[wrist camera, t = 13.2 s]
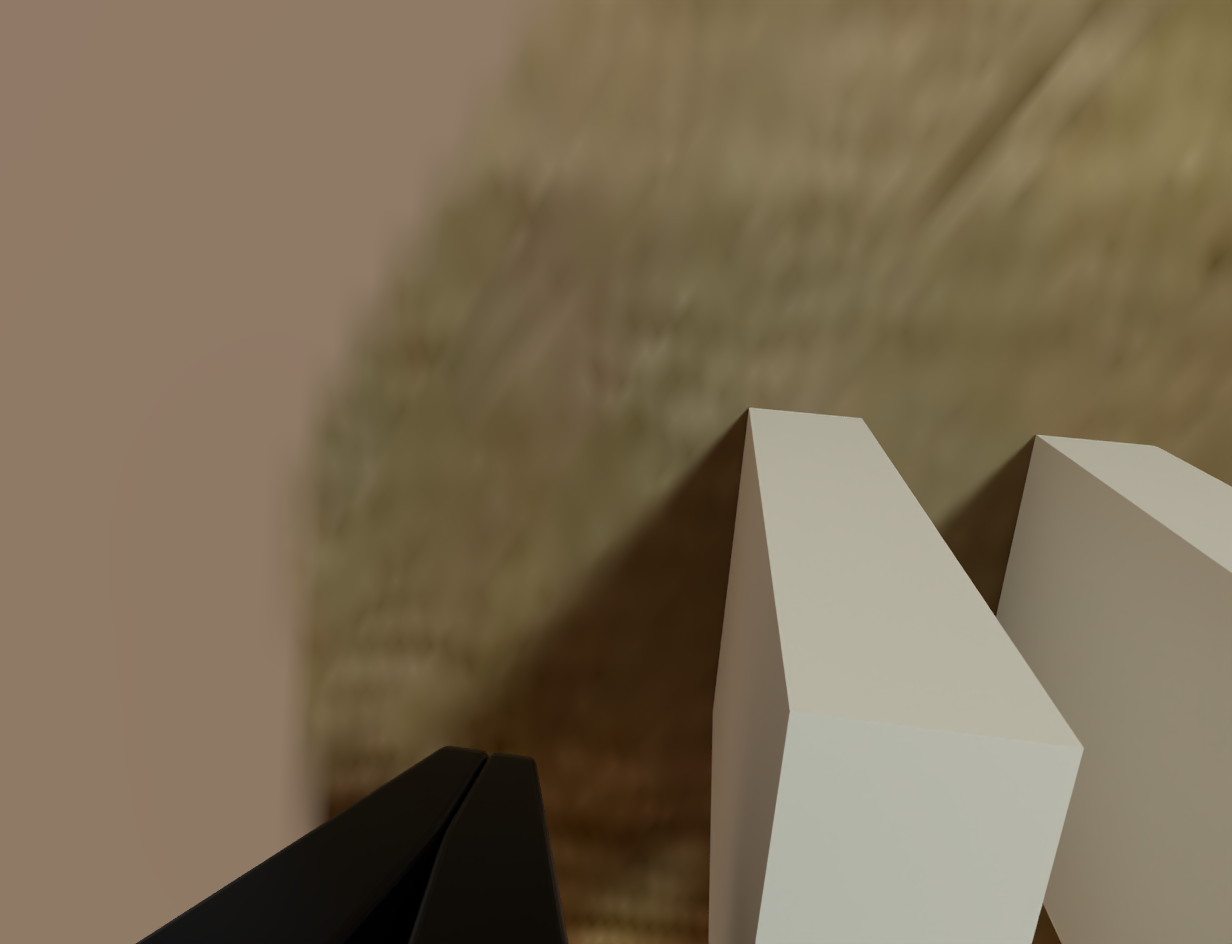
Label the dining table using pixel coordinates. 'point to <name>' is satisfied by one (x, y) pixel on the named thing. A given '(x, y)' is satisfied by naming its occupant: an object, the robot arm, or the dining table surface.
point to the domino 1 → (870, 717)
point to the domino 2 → (1132, 683)
